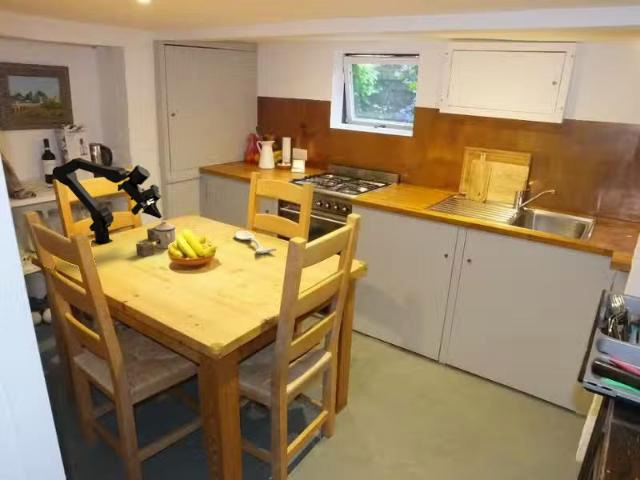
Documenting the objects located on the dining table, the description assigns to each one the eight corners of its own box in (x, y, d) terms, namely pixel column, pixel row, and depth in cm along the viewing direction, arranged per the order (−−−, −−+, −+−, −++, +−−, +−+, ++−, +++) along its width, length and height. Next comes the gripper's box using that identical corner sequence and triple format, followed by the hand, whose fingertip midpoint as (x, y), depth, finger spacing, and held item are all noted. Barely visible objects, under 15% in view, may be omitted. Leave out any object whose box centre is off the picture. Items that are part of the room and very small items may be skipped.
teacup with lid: (153, 243, 212) (151, 219, 208) (173, 241, 216) (172, 217, 212) (159, 252, 202) (157, 227, 198) (180, 249, 206) (178, 224, 203)
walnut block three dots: (147, 239, 217) (146, 228, 216) (156, 236, 221) (155, 226, 220) (154, 241, 215) (154, 231, 213) (163, 238, 219) (162, 228, 217)
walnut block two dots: (137, 255, 198) (136, 243, 197) (146, 251, 202) (145, 240, 201) (144, 257, 196) (143, 246, 194) (154, 254, 200) (153, 243, 198)
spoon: (258, 258, 201) (258, 251, 200) (231, 236, 226) (231, 230, 225) (277, 255, 205) (277, 248, 204) (248, 234, 231) (248, 227, 230)
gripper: (135, 184, 191) (163, 212, 194) (155, 175, 208) (180, 200, 211) (119, 201, 194) (146, 228, 197) (140, 191, 212) (165, 216, 214)
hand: (160, 217), depth 205 cm, fingers closed
